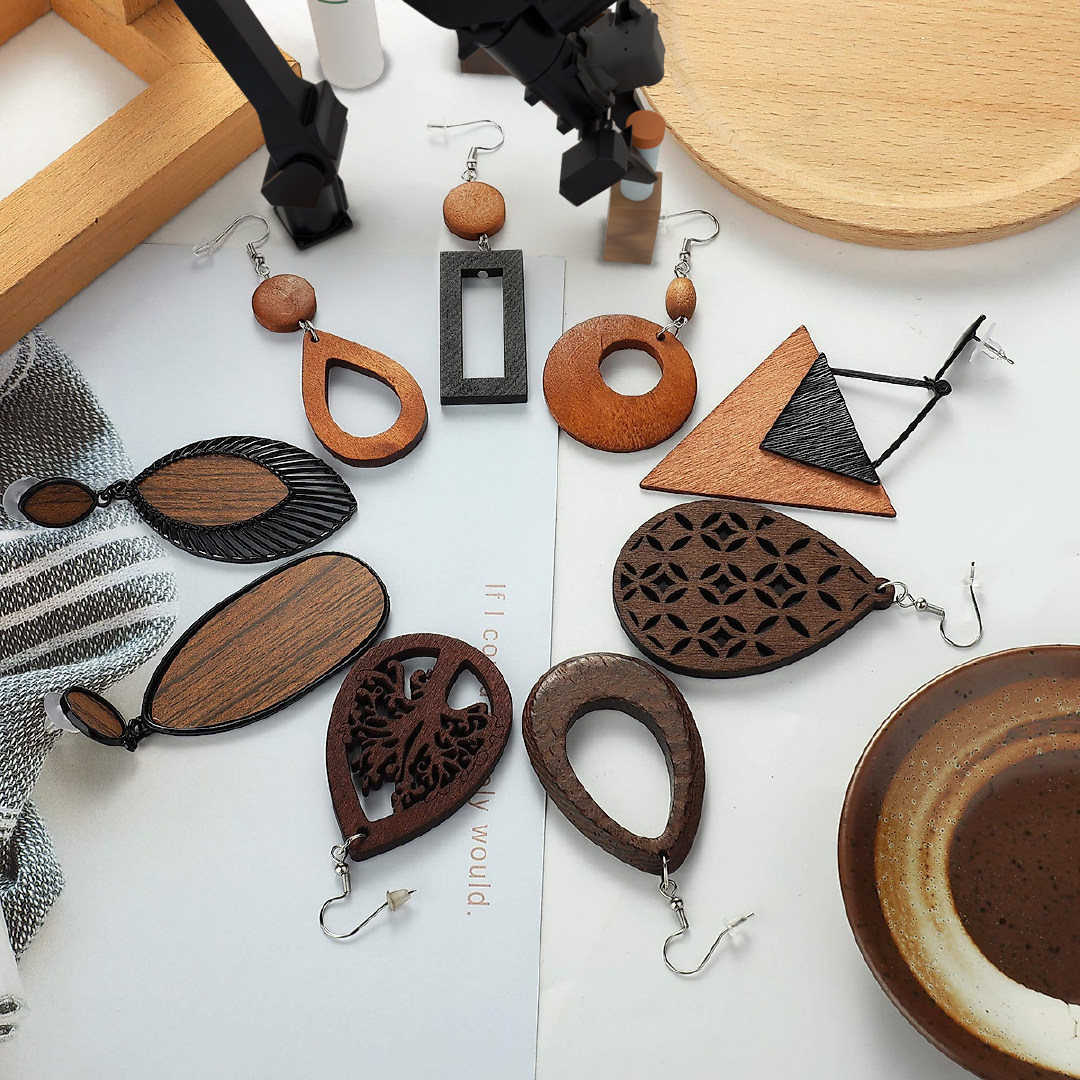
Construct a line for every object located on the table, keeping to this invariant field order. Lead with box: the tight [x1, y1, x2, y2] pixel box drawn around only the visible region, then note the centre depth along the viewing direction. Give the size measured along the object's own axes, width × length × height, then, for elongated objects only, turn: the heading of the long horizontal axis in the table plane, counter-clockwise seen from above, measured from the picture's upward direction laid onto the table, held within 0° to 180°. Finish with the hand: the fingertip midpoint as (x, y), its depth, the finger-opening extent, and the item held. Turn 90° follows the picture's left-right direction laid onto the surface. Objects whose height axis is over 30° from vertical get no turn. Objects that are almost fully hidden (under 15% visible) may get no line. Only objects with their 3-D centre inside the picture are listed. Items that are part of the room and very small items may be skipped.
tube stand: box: [603, 170, 663, 265], centre depth 99 cm, size 5×5×8 cm
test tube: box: [620, 109, 667, 201], centre depth 92 cm, size 4×4×8 cm
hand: (655, 162), depth 92 cm, fingers open, 4 cm apart
